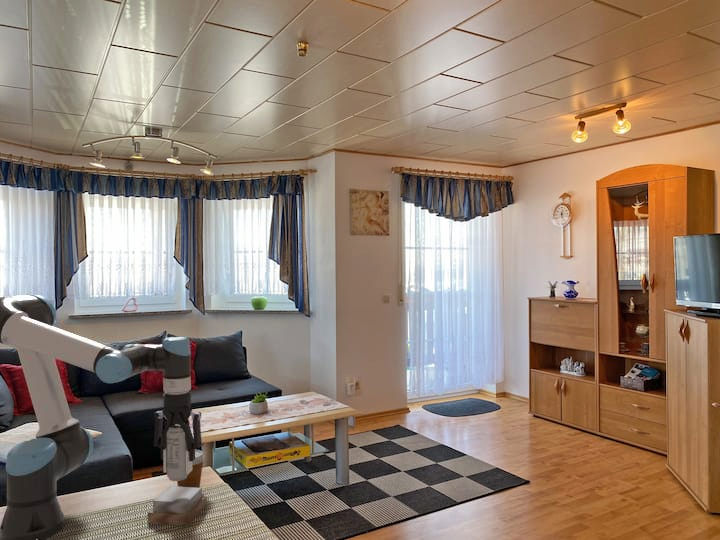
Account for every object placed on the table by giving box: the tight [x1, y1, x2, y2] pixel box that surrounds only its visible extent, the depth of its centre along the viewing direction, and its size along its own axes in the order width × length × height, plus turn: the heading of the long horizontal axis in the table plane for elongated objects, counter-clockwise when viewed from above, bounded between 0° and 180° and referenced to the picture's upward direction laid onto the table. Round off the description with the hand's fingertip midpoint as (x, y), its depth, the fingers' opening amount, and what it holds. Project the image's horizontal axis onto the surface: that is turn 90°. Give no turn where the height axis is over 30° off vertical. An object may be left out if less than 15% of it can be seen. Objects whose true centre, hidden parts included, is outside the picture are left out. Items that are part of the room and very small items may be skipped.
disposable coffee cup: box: [176, 449, 205, 488], centre depth 176 cm, size 10×10×12 cm
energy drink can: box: [166, 424, 188, 482], centre depth 160 cm, size 6×6×15 cm
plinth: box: [147, 485, 207, 526], centre depth 160 cm, size 12×12×6 cm
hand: (178, 471), depth 160 cm, fingers closed on energy drink can, 6 cm apart
